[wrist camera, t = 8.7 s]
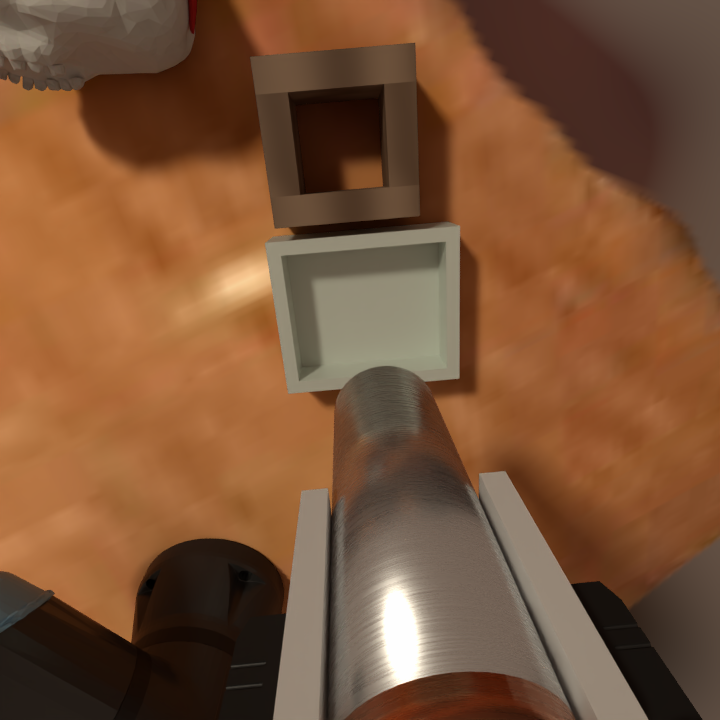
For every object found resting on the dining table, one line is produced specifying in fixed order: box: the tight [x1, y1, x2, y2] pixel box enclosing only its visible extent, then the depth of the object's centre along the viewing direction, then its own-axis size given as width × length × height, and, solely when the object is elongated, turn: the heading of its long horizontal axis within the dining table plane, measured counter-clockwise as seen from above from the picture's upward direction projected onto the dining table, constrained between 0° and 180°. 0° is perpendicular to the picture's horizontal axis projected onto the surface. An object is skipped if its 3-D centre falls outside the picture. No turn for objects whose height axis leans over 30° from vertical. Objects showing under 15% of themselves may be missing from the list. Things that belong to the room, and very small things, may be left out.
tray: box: [265, 222, 460, 394], centre depth 36 cm, size 14×12×4 cm
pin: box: [327, 366, 576, 720], centre depth 13 cm, size 4×4×14 cm
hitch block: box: [250, 43, 420, 228], centre depth 31 cm, size 10×10×5 cm
